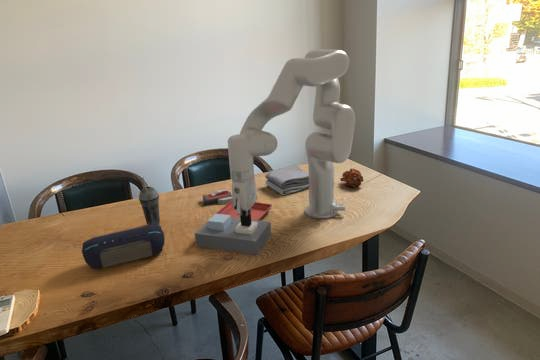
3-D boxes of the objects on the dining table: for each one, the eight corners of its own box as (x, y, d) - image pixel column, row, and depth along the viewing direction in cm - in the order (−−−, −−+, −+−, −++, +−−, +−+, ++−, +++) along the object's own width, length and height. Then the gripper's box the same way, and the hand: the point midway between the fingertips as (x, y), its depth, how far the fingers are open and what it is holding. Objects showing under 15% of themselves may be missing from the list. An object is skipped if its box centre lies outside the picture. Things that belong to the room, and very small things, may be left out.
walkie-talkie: (205, 209, 164) (250, 199, 171) (204, 199, 163) (250, 190, 170) (200, 201, 172) (243, 192, 179) (199, 192, 170) (243, 183, 177)
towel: (264, 187, 184) (263, 171, 181) (297, 178, 192) (296, 162, 189) (282, 197, 171) (281, 180, 169) (316, 187, 180) (316, 170, 177)
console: (271, 234, 140) (270, 221, 139) (256, 255, 128) (255, 241, 126) (215, 227, 148) (213, 215, 146) (196, 246, 135) (194, 233, 133)
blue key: (231, 228, 140) (230, 215, 138) (224, 235, 135) (223, 222, 133) (216, 226, 142) (215, 213, 140) (209, 233, 137) (207, 220, 135)
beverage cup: (167, 222, 153) (159, 173, 146) (155, 231, 147) (146, 180, 140) (152, 219, 156) (144, 171, 149) (139, 228, 150) (130, 178, 143)
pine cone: (359, 193, 174) (343, 189, 184) (371, 179, 175) (354, 175, 186) (349, 181, 170) (333, 176, 181) (361, 166, 172) (345, 163, 182)
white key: (258, 235, 137) (257, 222, 135) (252, 243, 132) (251, 229, 130) (243, 233, 139) (242, 220, 137) (236, 241, 134) (235, 227, 132)
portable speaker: (86, 278, 121) (79, 249, 117) (86, 262, 130) (79, 235, 126) (169, 257, 130) (165, 229, 126) (164, 243, 139) (160, 217, 135)
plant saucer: (253, 232, 143) (252, 224, 142) (210, 225, 150) (209, 217, 149) (273, 211, 159) (273, 204, 157) (233, 206, 166) (233, 198, 165)
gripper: (244, 182, 120) (248, 237, 126) (261, 166, 133) (264, 216, 139) (221, 181, 122) (226, 234, 128) (240, 165, 135) (244, 214, 142)
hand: (246, 225), depth 134 cm, fingers closed
